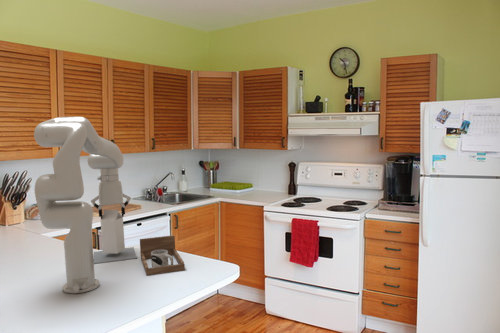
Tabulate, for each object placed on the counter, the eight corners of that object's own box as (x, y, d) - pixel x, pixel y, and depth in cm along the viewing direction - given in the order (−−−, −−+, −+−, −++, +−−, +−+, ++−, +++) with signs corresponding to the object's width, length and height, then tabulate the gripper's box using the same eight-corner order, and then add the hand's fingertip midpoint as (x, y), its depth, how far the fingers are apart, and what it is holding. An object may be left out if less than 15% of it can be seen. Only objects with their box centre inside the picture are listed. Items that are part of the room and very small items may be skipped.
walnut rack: (184, 270, 174) (183, 248, 173) (146, 275, 169) (145, 253, 168) (175, 254, 195) (174, 235, 194) (140, 259, 190) (139, 239, 189)
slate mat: (136, 258, 191) (136, 257, 191) (93, 264, 186) (93, 263, 186) (133, 247, 208) (133, 247, 208) (93, 252, 203) (93, 251, 202)
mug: (148, 269, 177) (147, 253, 176) (159, 264, 183) (158, 248, 182) (168, 272, 172) (167, 256, 172) (178, 267, 178) (177, 251, 177)
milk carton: (117, 253, 192) (114, 211, 191) (102, 253, 194) (99, 211, 192) (125, 249, 199) (122, 208, 198) (110, 249, 201) (108, 208, 199)
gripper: (88, 181, 187) (91, 220, 189) (130, 178, 193) (132, 216, 195) (89, 179, 194) (91, 217, 196) (129, 176, 200) (131, 213, 202)
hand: (112, 217), depth 195 cm, fingers closed on milk carton, 8 cm apart
